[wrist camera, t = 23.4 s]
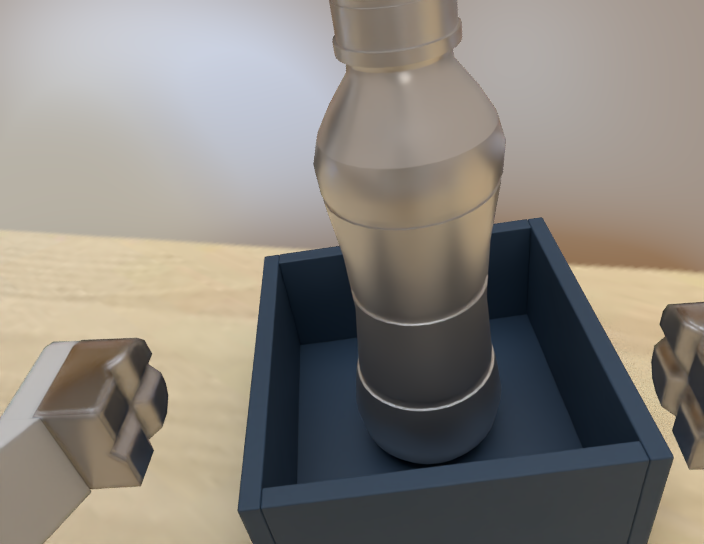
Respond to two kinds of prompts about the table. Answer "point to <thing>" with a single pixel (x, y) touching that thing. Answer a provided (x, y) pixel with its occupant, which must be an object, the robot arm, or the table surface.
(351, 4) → the metal water bottle
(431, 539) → the tub
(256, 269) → the table surface
